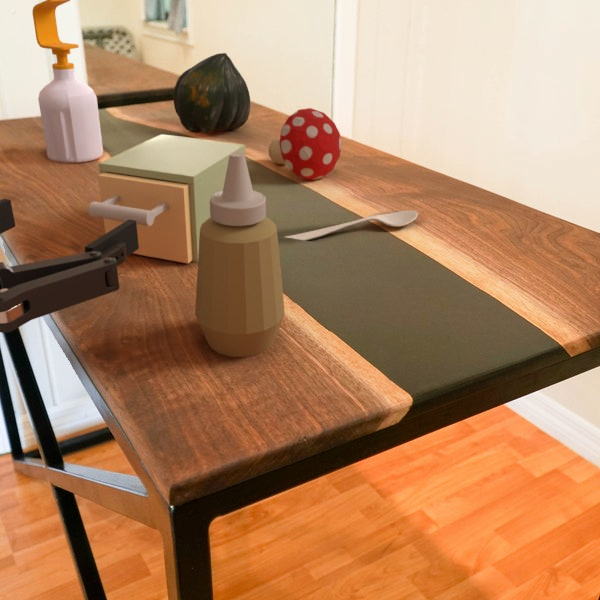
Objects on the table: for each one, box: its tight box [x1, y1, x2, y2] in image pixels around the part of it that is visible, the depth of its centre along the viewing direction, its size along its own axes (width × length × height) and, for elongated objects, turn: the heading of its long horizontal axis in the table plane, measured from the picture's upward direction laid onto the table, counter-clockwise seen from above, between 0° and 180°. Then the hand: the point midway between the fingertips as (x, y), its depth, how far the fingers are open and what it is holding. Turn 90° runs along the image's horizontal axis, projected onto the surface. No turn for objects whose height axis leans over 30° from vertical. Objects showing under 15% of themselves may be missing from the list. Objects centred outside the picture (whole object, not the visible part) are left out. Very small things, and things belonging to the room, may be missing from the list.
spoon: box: [285, 209, 419, 242], centre depth 85 cm, size 4×21×2 cm, turn 114°
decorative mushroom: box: [268, 107, 342, 181], centre depth 105 cm, size 11×11×15 cm
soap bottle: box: [32, 0, 104, 164], centre depth 106 cm, size 9×9×25 cm
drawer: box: [88, 172, 193, 264], centre depth 76 cm, size 17×11×9 cm, turn 161°
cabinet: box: [98, 133, 247, 263], centre depth 80 cm, size 14×12×11 cm
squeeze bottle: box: [194, 152, 285, 358], centre depth 57 cm, size 8×8×18 cm
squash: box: [172, 52, 251, 134], centre depth 126 cm, size 14×15×15 cm
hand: (70, 222), depth 61 cm, fingers open, 13 cm apart
